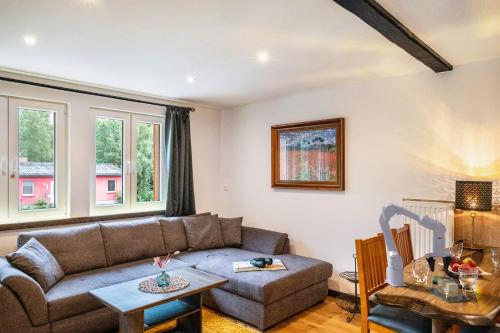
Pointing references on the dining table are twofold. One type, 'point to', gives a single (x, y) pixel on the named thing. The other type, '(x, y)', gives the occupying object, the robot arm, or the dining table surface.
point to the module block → (448, 287)
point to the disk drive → (435, 280)
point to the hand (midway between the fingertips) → (439, 271)
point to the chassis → (448, 295)
